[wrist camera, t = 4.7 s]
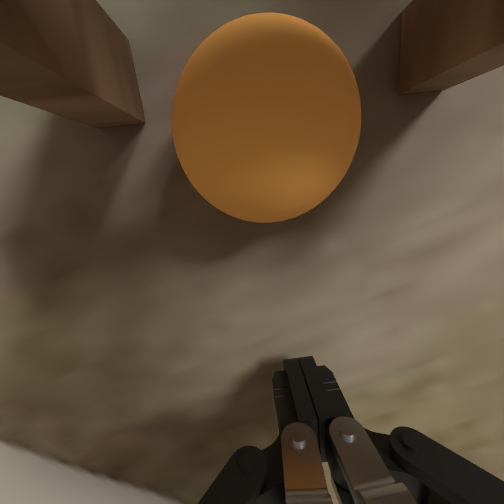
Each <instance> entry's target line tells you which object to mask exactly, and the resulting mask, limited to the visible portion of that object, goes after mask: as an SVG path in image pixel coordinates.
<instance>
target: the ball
mask: <svg viewBox="0 0 504 504" xmlns="http://www.w3.org/2000/svg"><path fill="white" fill-rule="evenodd" d="M360 130H361V101H360V95H359V89H358V86H357V82H356V79H355V76H354V73H353V71H352V69H351V67H350V65H349V62H348V60H347V59H346V57H345V56H344V54H343V53H342V51H341V50H340V48H339V47H338V46H337V45H336V44H335V43H334V42H333V40H332V39H331V38H330V37H329V36H328V35H326V34H325V33H324V32H323V31H321V30H320V29H319V28H317V27H316V26H314V25H312V24H310V23H309V22H307V21H305V20H303V19H300V18H297V17H294V16H291V15H288V14H281V13H274V12H267V13H255V14H249V15H245V16H242V17H239V18H237V19H235V20H233V21H230V22H228V23H226V24H224V25H222V26H221V27H220V28H218V29H217V30H215V31H214V32H213V33H211V34H210V35H209V36H208V37H207V38H206V39H205V40H204V41H203V42H202V43H201V44H200V45H199V46H198V47H197V49H196V50H195V51H194V53H193V54H192V55H191V57H190V58H189V60H188V62H187V63H186V65H185V67H184V69H183V71H182V73H181V76H180V78H179V81H178V84H177V87H176V91H175V95H174V100H173V108H172V133H173V140H174V145H175V149H176V152H177V156H178V159H179V161H180V163H181V166H182V168H183V170H184V172H185V174H186V175H187V177H188V179H189V181H190V182H191V184H192V185H193V186H194V188H195V189H196V190H197V191H198V192H199V193H200V194H201V195H202V197H203V198H204V199H206V200H207V201H208V202H209V203H210V204H212V205H213V206H214V207H216V208H217V209H219V210H221V211H222V212H224V213H226V214H228V215H230V216H233V217H236V218H238V219H241V220H245V221H251V222H258V223H271V222H279V221H284V220H288V219H291V218H294V217H297V216H299V215H301V214H303V213H305V212H307V211H309V210H311V209H313V208H314V207H315V206H317V205H318V204H319V203H321V202H322V201H323V200H324V199H326V198H327V197H328V196H329V195H330V194H331V193H332V191H333V190H334V189H335V188H336V187H337V186H338V184H339V183H340V182H341V180H342V179H343V177H344V176H345V174H346V172H347V170H348V168H349V166H350V165H351V162H352V160H353V157H354V155H355V152H356V149H357V145H358V141H359V137H360Z"/></svg>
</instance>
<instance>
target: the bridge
mask: <svg viewBox="0 0 504 504" xmlns="http://www.w3.org/2000/svg"><path fill="white" fill-rule="evenodd" d="M503 65H504V0H413V1H412V2H411V3H410V4H409V5H408V6H407V7H406V8H405V9H404V10H403V11H402V26H401V48H400V71H399V93H398V95H403V94H412V93H421V92H430V91H439V90H445V89H447V88H450V87H452V86H455V85H457V84H459V83H462V82H464V81H467V80H469V79H471V78H474V77H476V76H479V75H481V74H484V73H486V72H488V71H491V70H493V69H496V68H498V67H500V66H503ZM0 96H3V97H6V98H9V99H12V100H15V101H18V102H21V103H24V104H27V105H30V106H33V107H36V108H39V109H42V110H46V111H49V112H52V113H55V114H58V115H61V116H64V117H67V118H70V119H73V120H76V121H79V122H82V123H85V124H88V125H91V126H94V127H97V128H105V127H114V126H123V125H132V124H141V123H145V118H144V113H143V108H142V103H141V98H140V94H139V89H138V84H137V79H136V74H135V69H134V64H133V59H132V55H131V50H130V45H129V40H128V39H127V38H126V36H125V35H124V34H123V33H122V32H121V30H120V29H119V28H118V27H117V26H116V24H115V23H114V22H113V21H112V19H111V18H110V17H109V16H108V15H107V13H106V12H105V11H104V10H103V8H102V7H101V6H100V5H99V4H98V2H97V1H96V0H0Z"/></svg>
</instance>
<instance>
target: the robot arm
mask: <svg viewBox="0 0 504 504" xmlns="http://www.w3.org/2000/svg"><path fill="white" fill-rule="evenodd" d="M283 363H284V371H277V372H275V374H274V377H273V379H272V382H273V391H274V400H275V408H276V414H277V420H278V427H279V436H278V438H277V439H276V441H275V442H274V443H273V444H272V445H270V446H269V447H267V448H265V449H263V450H260V449H258V448H257V447H254V446H244V447H242V448H240V449H238V450H237V451H236V452H235V453H234V454H233V455H232V457H231V458H230V459H229V461H228V462H227V464H226V465H225V466H224V468H223V469H222V471H221V472H220V473H219V475H218V476H217V478H216V479H215V480H214V482H213V483H212V485H211V486H210V487H209V489H208V490H207V492H206V493H205V494H204V496H203V497H202V499H201V500H200V501H199V503H198V504H333V502H332V498H331V495H329V493H328V489H327V484H326V480H325V475H324V470H323V466H322V462H328V465H329V468H330V471H331V483H332V486H333V489H334V491H335V494H336V497H337V500H338V502H339V504H504V481H502V480H500V479H499V478H497V477H495V476H494V475H492V474H490V473H489V472H487V471H485V470H483V469H482V468H480V467H478V466H477V465H475V464H473V463H471V462H470V461H468V460H466V459H465V458H463V457H461V456H460V455H458V454H456V453H454V452H453V451H451V450H449V449H448V448H446V447H444V446H442V445H441V444H439V443H437V442H436V441H434V440H432V439H431V438H429V437H427V436H425V435H424V434H422V433H420V432H419V431H417V430H415V429H412V428H409V427H397V428H395V429H393V430H392V432H391V434H390V435H387V434H381V433H376V432H372V431H369V430H367V429H365V428H364V427H363V426H362V425H361V424H360V423H359V422H358V421H356V420H355V419H354V417H353V415H352V413H351V411H350V409H349V407H348V404H347V402H346V400H345V398H344V396H343V394H342V392H341V390H340V387H339V385H338V383H337V382H336V379H335V377H334V375H333V373H332V372H331V371H330V370H329V369H328V368H327V367H326V366H325V365H324V366H317V365H316V363H315V361H314V358H313V356H308V357H300V358H293V359H285V360H283Z"/></svg>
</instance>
